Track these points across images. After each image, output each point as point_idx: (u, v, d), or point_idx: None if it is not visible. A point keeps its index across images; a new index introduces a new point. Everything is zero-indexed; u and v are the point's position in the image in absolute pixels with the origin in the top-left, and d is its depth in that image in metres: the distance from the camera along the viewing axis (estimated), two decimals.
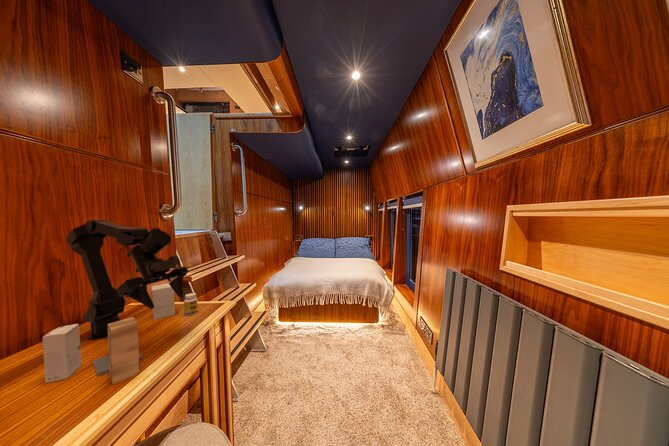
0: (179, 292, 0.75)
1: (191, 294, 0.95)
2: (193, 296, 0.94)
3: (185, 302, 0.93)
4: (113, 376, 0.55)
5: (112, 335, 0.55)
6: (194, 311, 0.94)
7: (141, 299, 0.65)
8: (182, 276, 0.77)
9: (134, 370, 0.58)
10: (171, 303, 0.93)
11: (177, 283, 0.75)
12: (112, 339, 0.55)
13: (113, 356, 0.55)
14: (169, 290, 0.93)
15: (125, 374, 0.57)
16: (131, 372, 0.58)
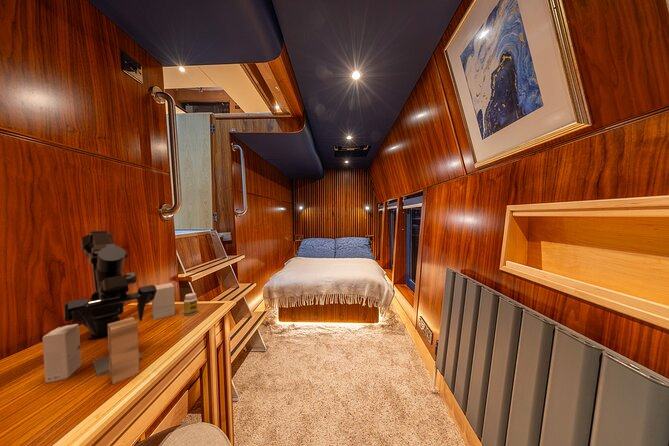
0: (139, 315, 0.65)
1: (191, 294, 0.95)
2: (193, 296, 0.94)
3: (185, 302, 0.93)
4: (113, 376, 0.55)
5: (112, 335, 0.55)
6: (194, 311, 0.94)
7: (86, 323, 0.58)
8: (145, 296, 0.68)
9: (134, 370, 0.58)
10: (171, 303, 0.93)
11: (139, 304, 0.66)
12: (112, 339, 0.55)
13: (113, 356, 0.55)
14: (169, 290, 0.93)
15: (125, 374, 0.57)
16: (131, 372, 0.58)
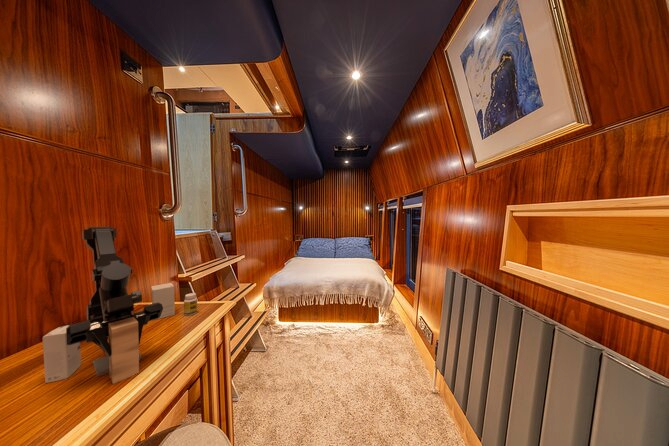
0: None
1: (191, 294, 0.95)
2: (193, 296, 0.94)
3: (185, 302, 0.93)
4: (113, 376, 0.55)
5: (113, 335, 0.55)
6: (194, 311, 0.94)
7: (100, 344, 0.56)
8: (143, 317, 0.62)
9: (134, 370, 0.58)
10: (171, 303, 0.93)
11: None
12: (113, 339, 0.55)
13: (113, 356, 0.55)
14: (169, 290, 0.93)
15: (125, 374, 0.57)
16: (131, 372, 0.58)
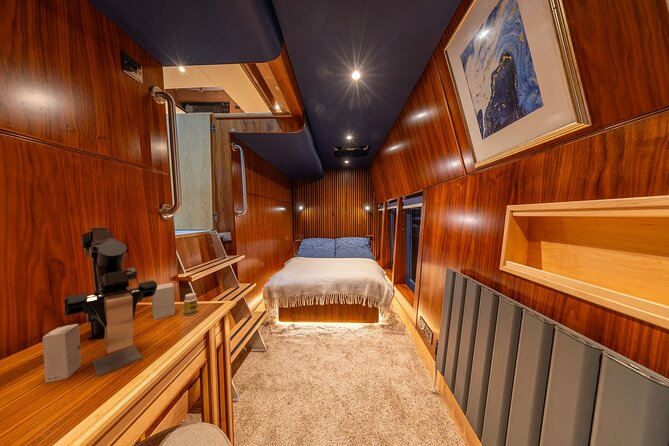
0: None
1: (191, 294, 0.95)
2: (193, 296, 0.94)
3: (185, 302, 0.93)
4: (108, 346, 0.58)
5: (108, 307, 0.58)
6: (194, 311, 0.94)
7: (97, 316, 0.59)
8: (137, 293, 0.65)
9: (128, 342, 0.61)
10: (171, 303, 0.93)
11: None
12: (108, 311, 0.58)
13: (108, 327, 0.58)
14: (169, 290, 0.93)
15: (119, 345, 0.60)
16: (125, 343, 0.61)
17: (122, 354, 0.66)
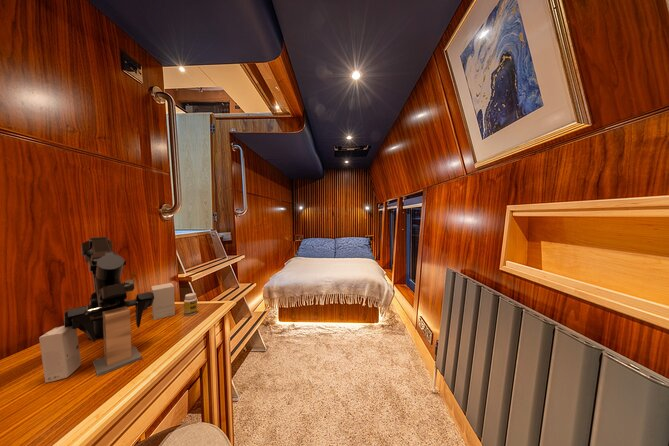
0: (137, 322, 0.67)
1: (191, 294, 0.95)
2: (193, 296, 0.94)
3: (185, 302, 0.93)
4: (107, 358, 0.61)
5: (106, 321, 0.60)
6: (194, 311, 0.94)
7: (86, 330, 0.60)
8: (143, 303, 0.69)
9: (127, 354, 0.64)
10: (171, 303, 0.93)
11: (137, 311, 0.68)
12: (106, 325, 0.60)
13: (107, 340, 0.61)
14: (169, 290, 0.93)
15: (118, 357, 0.62)
16: (124, 356, 0.63)
17: None
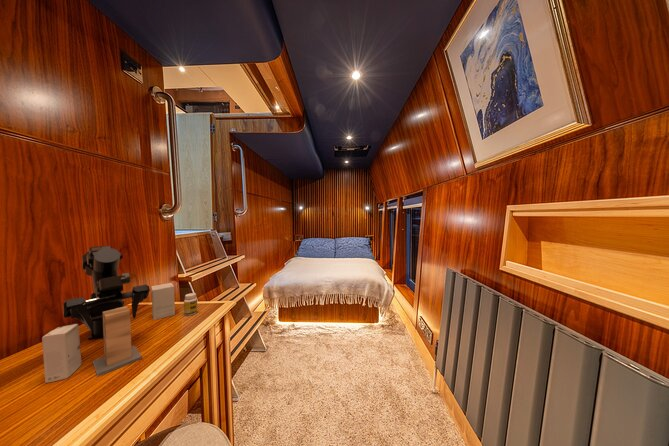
0: (132, 313, 0.70)
1: (191, 294, 0.95)
2: (193, 296, 0.94)
3: (185, 302, 0.93)
4: (107, 358, 0.61)
5: (106, 321, 0.60)
6: (194, 311, 0.94)
7: (83, 320, 0.63)
8: (139, 295, 0.72)
9: (127, 354, 0.64)
10: (171, 303, 0.93)
11: (133, 302, 0.71)
12: (106, 325, 0.60)
13: (107, 340, 0.61)
14: (169, 290, 0.93)
15: (118, 357, 0.62)
16: (124, 356, 0.63)
17: None
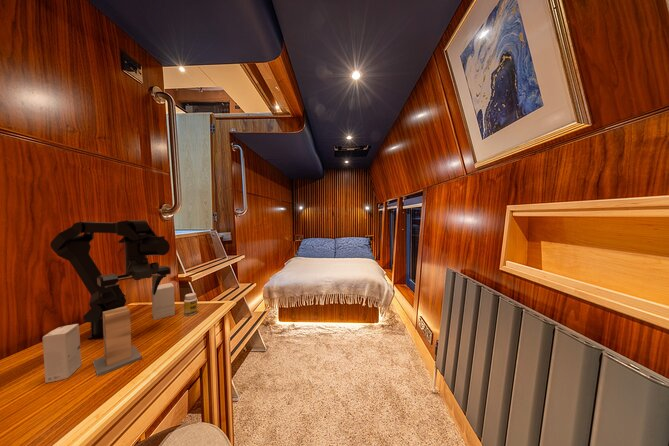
0: (153, 290, 0.82)
1: (191, 294, 0.95)
2: (193, 296, 0.94)
3: (185, 302, 0.93)
4: (107, 358, 0.61)
5: (106, 321, 0.60)
6: (194, 311, 0.94)
7: (114, 292, 0.73)
8: (161, 278, 0.82)
9: (127, 354, 0.64)
10: (171, 303, 0.93)
11: (155, 282, 0.81)
12: (106, 325, 0.60)
13: (107, 340, 0.61)
14: (169, 290, 0.93)
15: (118, 357, 0.62)
16: (124, 356, 0.63)
17: None
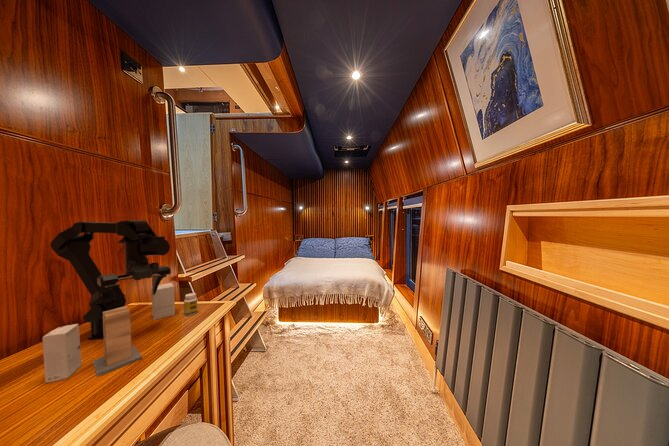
0: (153, 290, 0.82)
1: (191, 294, 0.95)
2: (193, 296, 0.94)
3: (185, 302, 0.93)
4: (107, 358, 0.61)
5: (106, 321, 0.60)
6: (194, 311, 0.94)
7: (114, 292, 0.73)
8: (161, 278, 0.82)
9: (127, 354, 0.64)
10: (171, 303, 0.93)
11: (155, 282, 0.81)
12: (106, 325, 0.60)
13: (107, 340, 0.61)
14: (169, 290, 0.93)
15: (118, 357, 0.62)
16: (124, 356, 0.63)
17: None
